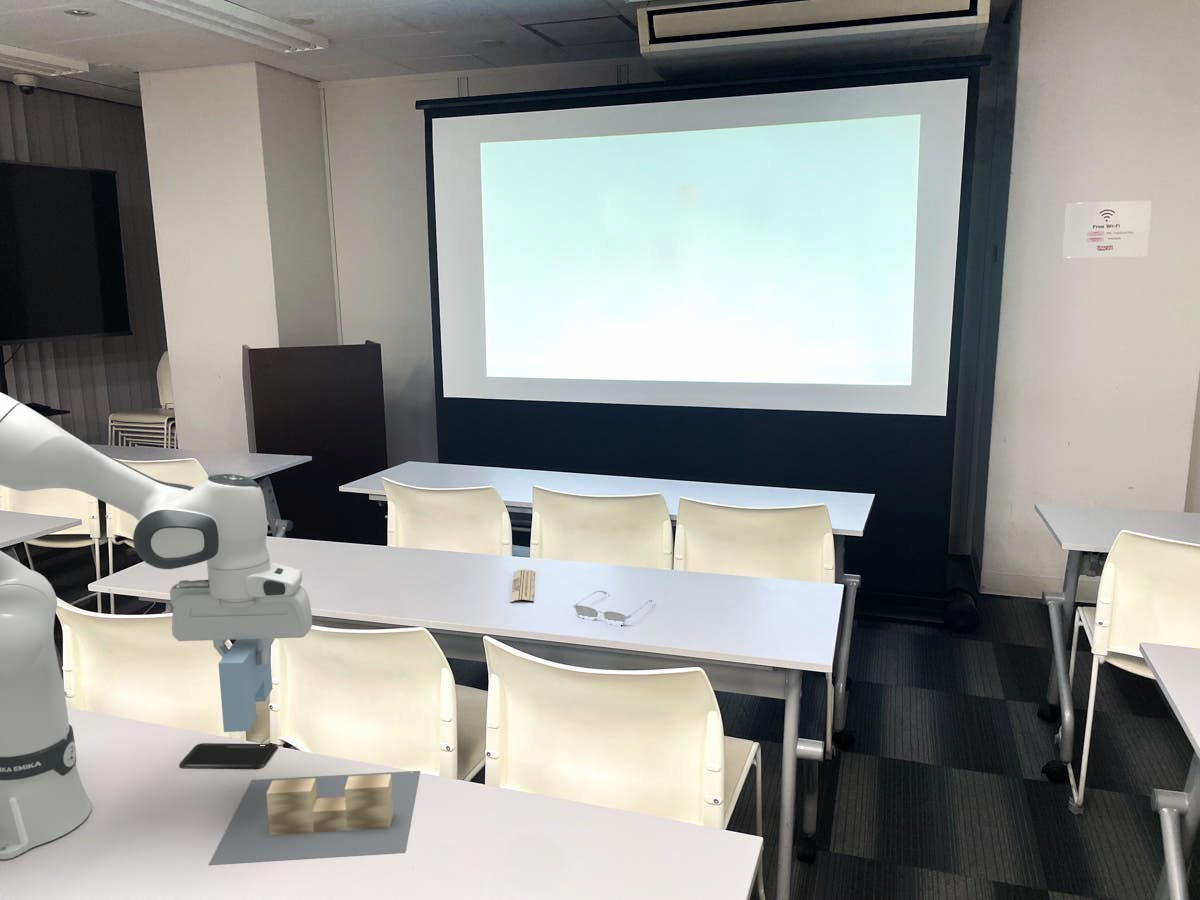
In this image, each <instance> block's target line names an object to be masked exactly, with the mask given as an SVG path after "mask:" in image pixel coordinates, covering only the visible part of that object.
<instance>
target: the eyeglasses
mask: <svg viewBox="0 0 1200 900" xmlns="http://www.w3.org/2000/svg"><path fill="white" fill-rule="evenodd" d="M598 592H600V593H603V594H604V595H605V594H607V593H608V592H607V591H604V590H596V591H594V592H593V593H591V594H589V595H588V596H586V597H585V598H583V599H582V600H581V601H579V602H577V603H575V604H573V606H572V607H573V608H574V609H575V612H576V614H577V616H578V615H582V616H588V617H598V614H599V613H601V614H603V617H604V620H605V619H608V620H614V621H622V622H624V623H625V622H626V621H627V619H630V618H631V616H632V615H634V614H635V613H636V612H638V611H639V610H640V609H642V608H643V607H644V606H645V605H647V604H648V603H649V602H651V603H652V601H653V600H652V599H648V600H647V601H645V603H644V604H643V605H642V606H641V607H640V608H638V609H637V610H636V611H634V612H633V613H631V614H628V615H625V614H623V613H621V612H618V611H617V612H616V611H611V610H609V611H608V610H607V611H601V610H597V609H595V608H593V607H590V606H587V605H581V604H580V603H581V602H583V601H584V600H586V599H587V598H588V597H590V596H592V595H594V594H596V593H598Z"/></svg>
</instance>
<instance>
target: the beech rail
mask: <svg viewBox="0 0 1200 900" xmlns="http://www.w3.org/2000/svg"><path fill="white" fill-rule="evenodd" d="M266 795H267V807H268V819H269V831H270V835H281V834H298V833H315V832H331V831H348V830H365V829H381V828H390V827H391V823H392V818H393V799H392V780H391V774H384V775H366V776H349V777H348V780H347V783H346V786H345V797H337V798H319V799H317V790H316V778H310V779H292V780H273V781H272V783H271V785H270V787H269V789H268V791H267V793H266Z"/></svg>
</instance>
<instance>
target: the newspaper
mask: <svg viewBox="0 0 1200 900" xmlns="http://www.w3.org/2000/svg"><path fill="white" fill-rule="evenodd" d="M534 581H535V582H536V571H535V570H531V569H518V570H516V571H514V572H513V578H512V587H511V596H510V603H512V602H513V603H514V602H515V601H521V600H522V601H524V600H525V601H529V602H531V601H534V602H535V585H534Z"/></svg>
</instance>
